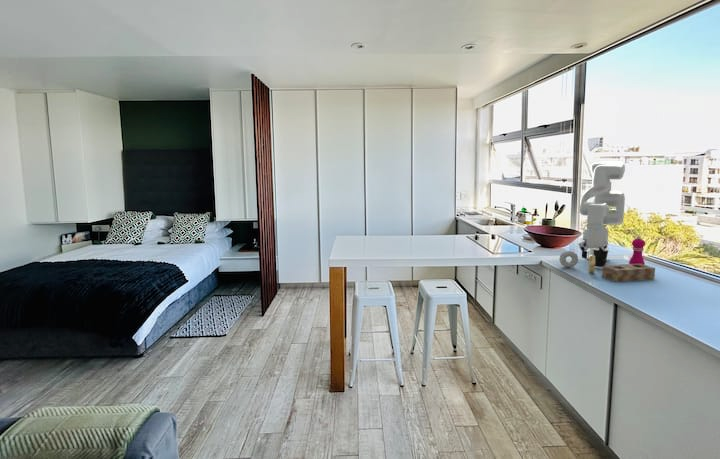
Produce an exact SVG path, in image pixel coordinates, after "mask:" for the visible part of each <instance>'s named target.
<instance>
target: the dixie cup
mask: <svg viewBox="0 0 720 459" xmlns="http://www.w3.org/2000/svg"><path fill="white" fill-rule="evenodd" d="M593 250H594V255H595V256H596V259H595V269H602V270H603V266H606V262H607V261H606V259H607V257H608V253H609V248H608V247H607V248H605V250H604V251H603V258H600V257H598V250H599V248H593Z"/></svg>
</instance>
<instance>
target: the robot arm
mask: <svg viewBox="0 0 720 459" xmlns="http://www.w3.org/2000/svg"><path fill="white" fill-rule="evenodd" d="M590 171H591V176H592V182H591V187H589V188H588V189H587V190H586V191H584V193H583V194H582V196H581V197H580V202H579V203H580V204H579V213H580V215H581V216H586V217H587V220H586V228H585V229H584V231H583V235H582V240H581V241H579V242H578V247H579V249H580V251H581V258H582V259H584V260H589V255H594V250H593V248H599V250H598V257H600V258H603V251H604V250H605V248H607V249H608V245H609V230H608V229H607V227H606V226H607V225H610V226H620V225H622V224H623V223H624V214H625V204H626V203H625V201H626V197H625V193H624V192H622V191H618V190H612V181H611V180H622V179H623V177H624V174H625V171H626V165H625V163H624V162H622V161H600V162H599V161H598V162H594V163H592V164H591V166H590ZM592 198H593V199H594V200H593V201H588V200H589V199H592ZM611 208H612V209H611ZM605 225H606V226H605ZM608 261H610V257H608V256H607V259H606V262H608Z"/></svg>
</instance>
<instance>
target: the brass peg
mask: <svg viewBox="0 0 720 459" xmlns="http://www.w3.org/2000/svg"><path fill="white" fill-rule="evenodd" d="M595 259H596V256H595V255H589V259H588V271H587V273H588V274H589V275H595V271H596V268H595Z"/></svg>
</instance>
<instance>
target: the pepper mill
mask: <svg viewBox="0 0 720 459" xmlns="http://www.w3.org/2000/svg"><path fill="white" fill-rule="evenodd" d="M631 245H632V250H633V251H632V255H631V258H630V259H629V262H628V264H637V263H640V264H644V265H646V264H645V259H644V257H643V251H644V247H645V245H646V241H645V240H644V239H643V238H642V237H641V236H640V235H638V236H637V238H635V239H633V240H632V242H631Z"/></svg>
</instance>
